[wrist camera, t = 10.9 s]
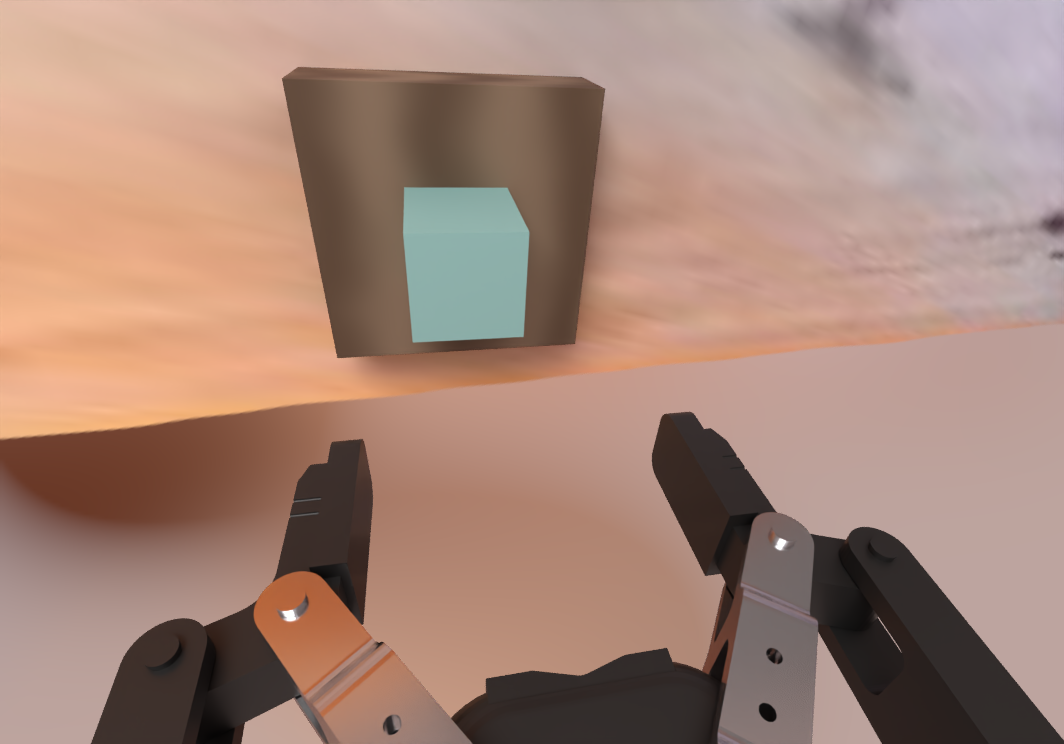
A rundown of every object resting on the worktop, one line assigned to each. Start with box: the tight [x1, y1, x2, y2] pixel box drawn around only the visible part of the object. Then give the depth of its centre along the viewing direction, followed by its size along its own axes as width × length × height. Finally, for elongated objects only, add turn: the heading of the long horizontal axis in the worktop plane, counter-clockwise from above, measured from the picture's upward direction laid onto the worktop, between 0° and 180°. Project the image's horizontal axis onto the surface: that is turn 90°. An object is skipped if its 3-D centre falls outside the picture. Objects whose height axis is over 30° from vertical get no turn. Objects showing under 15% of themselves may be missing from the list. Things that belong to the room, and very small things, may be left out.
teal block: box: [403, 187, 529, 343], centre depth 25 cm, size 5×5×6 cm
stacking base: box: [282, 67, 605, 358], centre depth 29 cm, size 14×14×4 cm
